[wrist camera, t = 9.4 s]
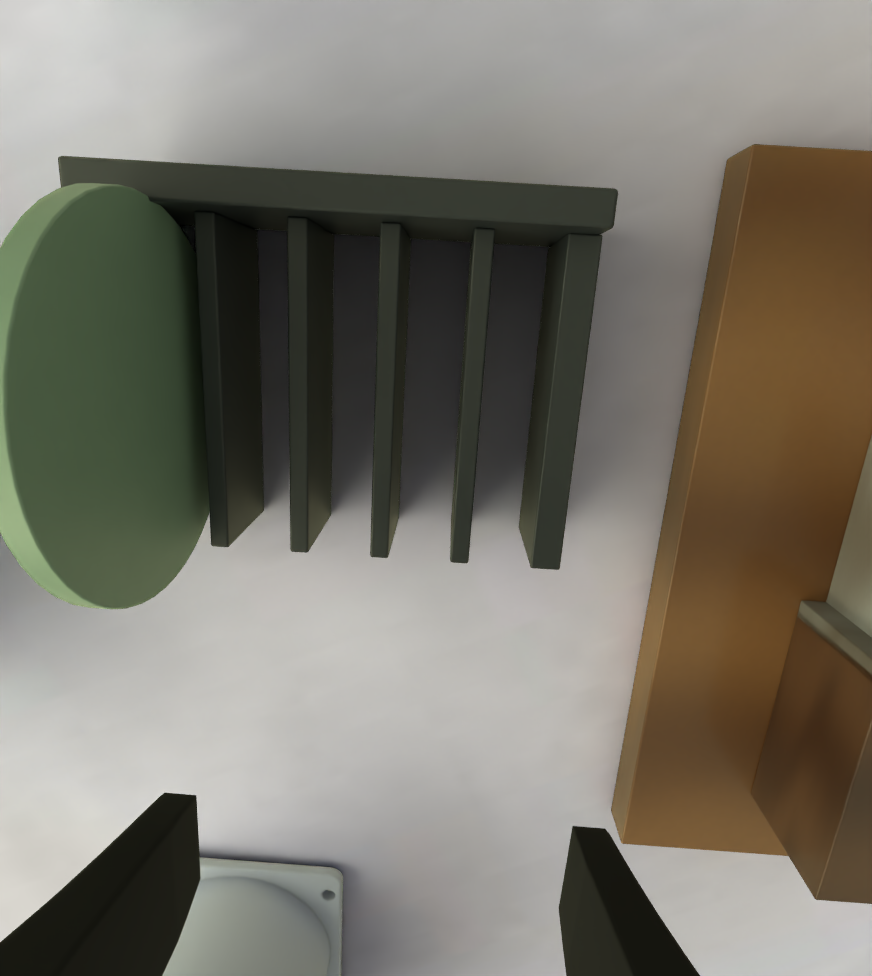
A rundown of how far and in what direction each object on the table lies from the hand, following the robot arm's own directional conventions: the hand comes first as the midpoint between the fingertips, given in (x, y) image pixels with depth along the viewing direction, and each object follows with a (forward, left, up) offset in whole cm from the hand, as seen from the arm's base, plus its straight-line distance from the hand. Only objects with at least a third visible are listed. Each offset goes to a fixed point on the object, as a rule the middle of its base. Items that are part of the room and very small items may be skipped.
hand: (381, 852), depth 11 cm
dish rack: (+8, +2, -9) cm, 12 cm away
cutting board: (+3, -13, -9) cm, 16 cm away
